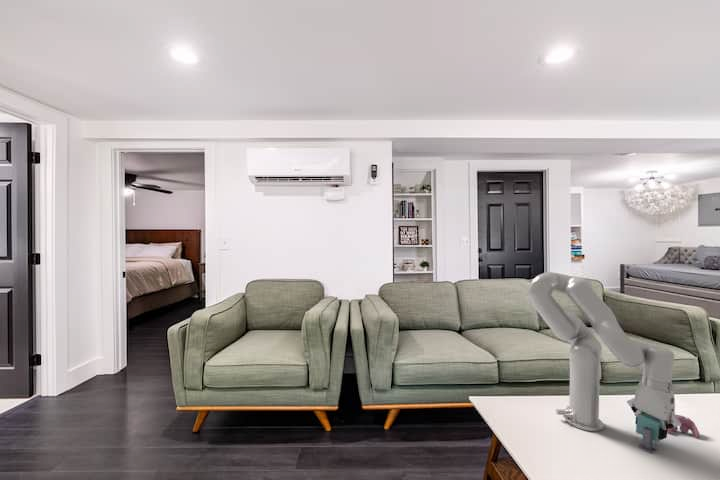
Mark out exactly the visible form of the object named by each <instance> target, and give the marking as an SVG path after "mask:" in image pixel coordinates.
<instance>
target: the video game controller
mask: <svg viewBox="0 0 720 480" xmlns="http://www.w3.org/2000/svg"><path fill="white" fill-rule="evenodd" d="M675 415H676V417H677V418H678V419H679V421H680V422H681V424H682V425H680V426H677V427H673V428H669V429H668V431H667V435H668V434H669V435H670V434H671V433H672V431H673V432H677V431H678V427H679V430H680V432H682V433H686V434H687V433H689V431H691V432H692V434H693V435H694V437H695V438H696V439H700V437H701V435H700V431H699V430H698V427H697V426H696V424H695V422H694V421H693V420H692V419H691V418H689V417H687V416H684V415H681V414H676V413H675ZM668 422H669V423H673V420H672V419H669V420H668Z"/></svg>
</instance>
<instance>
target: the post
mask: <svg viewBox="0 0 720 480" xmlns="http://www.w3.org/2000/svg"><path fill="white" fill-rule="evenodd" d="M637 446H638V449H640V450H642V451H644V452H647V453H649V454H650V455H651V454H654V453H656V452H657V451H658V449H657V448H655V447H653V446H654V441H653V429H651V428H648V427H644V428H643V435H642V443H641V444H640V445H637Z"/></svg>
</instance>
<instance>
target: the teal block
mask: <svg viewBox="0 0 720 480" xmlns="http://www.w3.org/2000/svg"><path fill="white" fill-rule="evenodd" d="M636 425H637V427H635V433H637V434H639V435H641V436H643V428H644V427H648V428H651V429H653V442H655V443H656V442H657V443H658V442H660V441H661V440H659V439H658V437H659V429H660V428H661V424H660V420H659V419H658V418H656V417H653V416H651V415H649V414H647V413H645V412H642V413H639V414H638V418H637V424H636Z"/></svg>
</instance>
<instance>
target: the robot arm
mask: <svg viewBox="0 0 720 480" xmlns="http://www.w3.org/2000/svg"><path fill="white" fill-rule="evenodd" d="M553 293H554V294H559V295H563V296H567V297H568V299H569V300H570V301H571V302H572V303H573V304H574V305H575V307H576V308H577V309H578V311H579V312H580V313H581V314H582V315H583V316H584V318H586V320H587V321H588V323H590V325H591V327H592V328H593V330H594V332H596V334H597V335H598V336H599V338H600V340H601V341H602V342H603V343H604V345H605V346H606V347H607V348H608V350H609V351H610V352H611V353H612V355H613V356H614V357H615V358H616V359H617V360H618V362H620V363H621V364H623V365H624V366H626V367H628V368H638V367H640V366H642V365H643V369H642V370H643V371H642V376H641V380H640V381H639V382H638V385H637V388H636V391H635V395H634V397H633V398H631V399H628V400H626V403H627V404H628V405H629V408H631V411H632V412H633V413H634V417H635V421H634V422H635V425H636V427H637V418H638V414H639V413H642V412H645V413H647V414H649V415H651V416H653V417H656V418H658V419H659V420H660V424H661V428H660V429H659V437H658V439H659V440H660V441H662V440H665V439H667V437H668V433H667V431H668V429H669V428H673V427H680V425H682V424H681V422H680V421H679V419H678V418H677V417H676V415H677V414H676V403H675V402H676V401H675V400H676V399H675V393H674V391H676V390H677V386H675V385H673V382H672V380H673V373H674V363H675V353H674V352H673V350H670V349H668V348H666V347H664V346H658V345H651V344H647V343H644V342H642V341H638V340H636V339H632V338H629V336H628V335H627V334H626V333H625V332H624V330H623V328H622V327H621V326H620V323H618V319H617V318H616V316H615V313H614V312H613V311H612V309H611V308H610V307H609V306H608V305H607V304H606V303H605V302H604V300H603V299H602V298H601V297H600V296H599V295H598V294H597V293H596V291H595V290H594V287H593V284H592V283H591V282H590V281H589V280H587V279H586V278H583V277H578V276H573V275H568V274H563V273H558V272H552V271H546V272H543V273H540V274H538V275H536V276H535V277H534V278H533V279H532V281H531V282H530V284H529V286H528V293H527V295H528V298H529V301H530V303H531V305H532V307H534V309H535V310H536V311H537V313H538V314H539V315H540V317H541V318H542V319H543V321H544V322H545V323H546V324H547V326H548V327H549V329H550V330H551V331H552V332H553V334H554V335H555V336H556V337H557V338H558V339H560V340H562V341H565V342H568V343H569V344H570V345H571V346H570V349H569V356H568V357H569V397H568V398H569V401H568V403H569V404H568V405H569V406H568V405H567V406H566V408H564V409H560V408H559V409H558V408H557V409H555V413H556V415H558V416H559V415H560V416H561V415H562V418H563V419H565V421H566V422H567V423H568V424H570V425H571V426H572V427H573V426H574V427H575V428H578V429H580V430H584V431H588V432H599V431H602V430H604V422H603V421H602V420H600V419H599V416H600V414H599V413H600V379H601V378H600V374H601V373H600V367H601V366H600V365H601V364H600V362H601V356H602V353H603V348H602V345H601V343H600V341H599V339H598V338H597V336H595V335H594V333H592V331H591V330H590V329H589V328H588V327H587V325H586V323H584V322H583V321H582V319H581V318H580V317H578V316H577V315H576V314H574V313H571V312H566V310H565V309H564V308H563V307H562V305H561V304H560V303H559V302H558V301H557V300H556V299H555V298H554V296H553ZM675 414H676V415H675ZM669 419H672V420H673V423H669V422H668V420H669ZM636 427H635V428H636Z"/></svg>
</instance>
